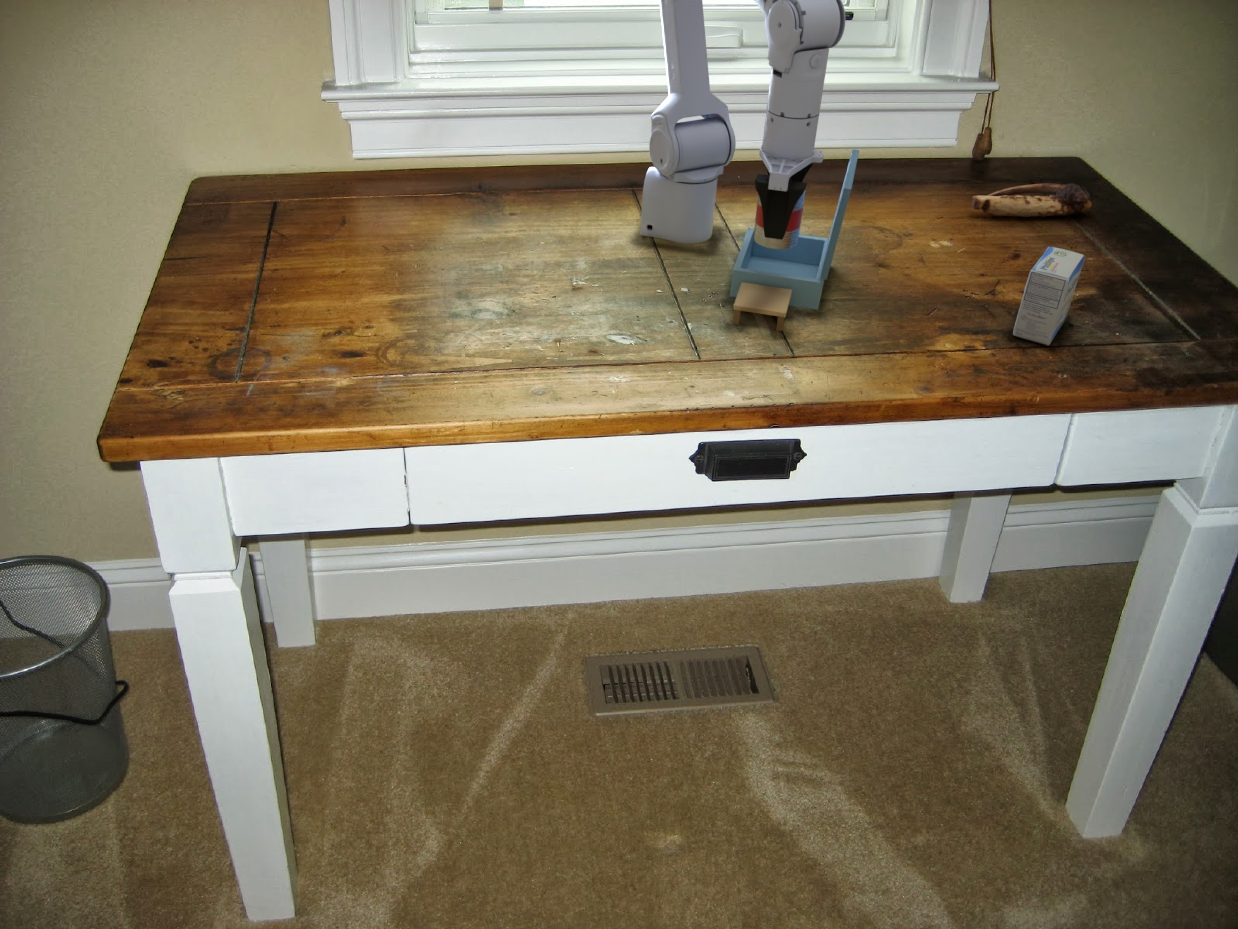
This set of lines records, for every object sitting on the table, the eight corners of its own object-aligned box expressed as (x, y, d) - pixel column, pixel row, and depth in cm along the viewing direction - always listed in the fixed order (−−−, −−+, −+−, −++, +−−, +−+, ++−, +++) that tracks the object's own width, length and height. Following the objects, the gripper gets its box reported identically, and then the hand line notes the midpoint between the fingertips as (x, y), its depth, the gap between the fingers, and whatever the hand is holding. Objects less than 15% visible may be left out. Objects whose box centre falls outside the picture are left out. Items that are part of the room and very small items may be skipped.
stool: (730, 329, 124) (733, 304, 122) (738, 305, 129) (741, 281, 127) (782, 337, 123) (786, 312, 121) (788, 313, 128) (792, 289, 126)
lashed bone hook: (1065, 200, 161) (951, 198, 158) (1075, 169, 158) (959, 167, 155) (1096, 224, 153) (977, 223, 150) (1106, 192, 150) (985, 190, 148)
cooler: (728, 301, 129) (732, 269, 127) (744, 257, 139) (748, 226, 137) (816, 315, 128) (822, 282, 125) (826, 269, 137) (832, 238, 135)
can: (750, 246, 124) (756, 192, 120) (756, 227, 128) (762, 175, 124) (795, 252, 123) (803, 198, 119) (800, 234, 127) (808, 181, 123)
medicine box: (1048, 347, 124) (1070, 279, 119) (1010, 336, 125) (1030, 268, 120) (1065, 320, 129) (1087, 254, 124) (1028, 309, 131) (1048, 244, 126)
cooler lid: (844, 187, 118) (851, 189, 118) (852, 148, 128) (859, 150, 128) (819, 278, 125) (826, 280, 125) (829, 234, 135) (835, 236, 135)
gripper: (824, 136, 110) (805, 258, 118) (835, 94, 121) (817, 207, 130) (755, 128, 111) (741, 249, 119) (773, 87, 123) (759, 200, 131)
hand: (777, 227), depth 125 cm, fingers closed on can, 5 cm apart
